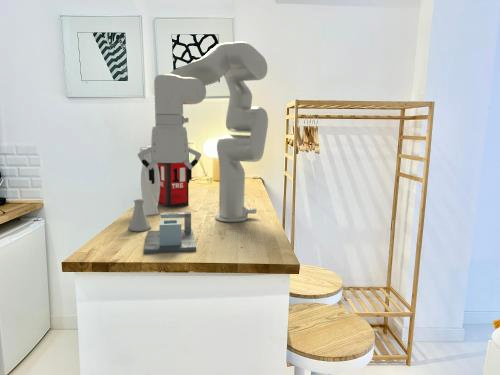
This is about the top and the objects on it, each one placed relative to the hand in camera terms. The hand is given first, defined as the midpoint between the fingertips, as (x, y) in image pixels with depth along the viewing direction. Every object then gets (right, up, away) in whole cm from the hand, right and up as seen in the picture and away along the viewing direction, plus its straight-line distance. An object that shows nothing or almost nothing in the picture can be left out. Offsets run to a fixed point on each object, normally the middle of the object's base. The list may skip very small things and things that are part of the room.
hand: (170, 182), depth 102 cm
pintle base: (-1, -18, +6) cm, 19 cm away
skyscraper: (-16, -12, +41) cm, 45 cm away
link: (-2, -16, +7) cm, 18 cm away
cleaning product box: (-13, -9, +59) cm, 62 cm away
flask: (-15, -16, +19) cm, 28 cm away
